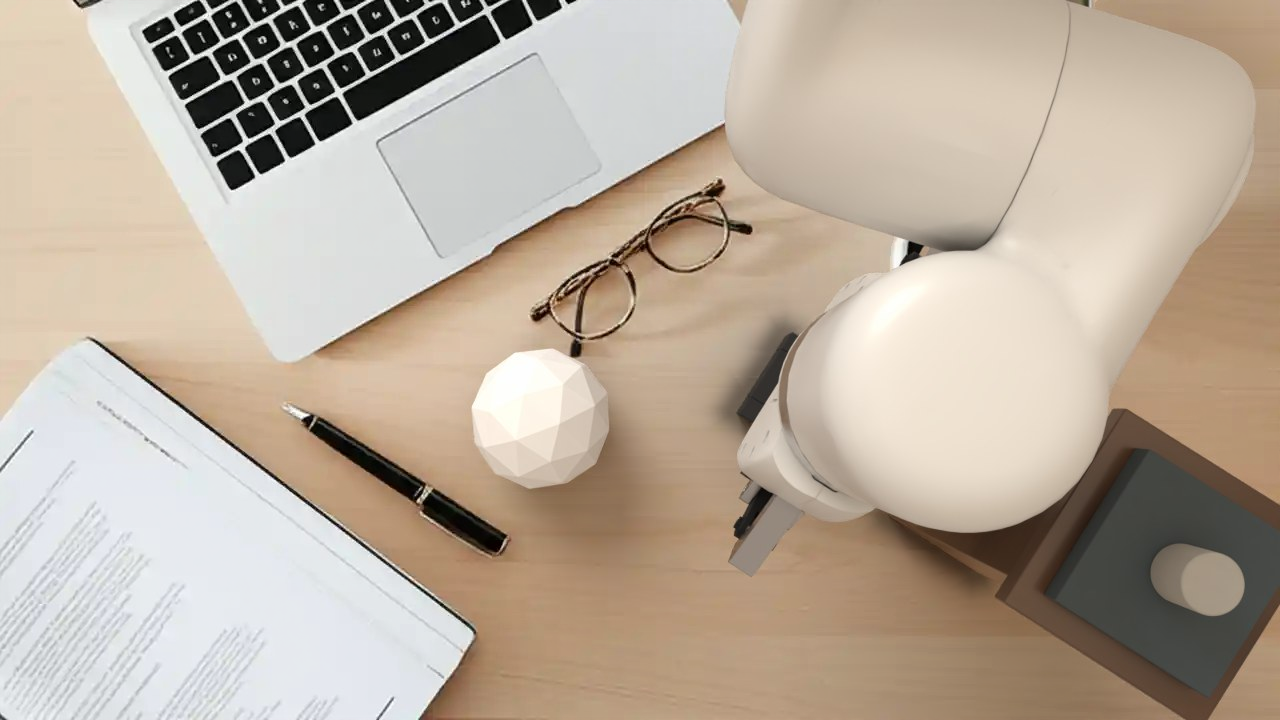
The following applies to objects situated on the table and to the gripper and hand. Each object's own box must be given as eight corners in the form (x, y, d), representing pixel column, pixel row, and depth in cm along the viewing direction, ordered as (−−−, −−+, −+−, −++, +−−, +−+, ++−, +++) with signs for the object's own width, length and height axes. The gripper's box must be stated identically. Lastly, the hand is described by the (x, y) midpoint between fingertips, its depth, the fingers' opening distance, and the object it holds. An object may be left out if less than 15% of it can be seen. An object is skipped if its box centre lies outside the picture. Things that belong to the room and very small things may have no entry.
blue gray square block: (1135, 447, 40) (1181, 451, 36) (1285, 542, 39) (1347, 555, 36) (1043, 594, 40) (1080, 613, 36) (1192, 689, 39) (1245, 718, 36)
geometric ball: (559, 383, 71) (603, 314, 65) (599, 500, 68) (649, 440, 62) (442, 398, 67) (476, 327, 61) (478, 523, 64) (518, 461, 58)
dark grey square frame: (785, 335, 68) (791, 331, 65) (864, 385, 68) (874, 384, 64) (736, 413, 68) (739, 413, 65) (814, 463, 68) (822, 466, 64)
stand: (937, 406, 68) (1125, 407, 40) (1053, 479, 67) (1325, 533, 39) (864, 520, 68) (1002, 602, 40) (980, 594, 67) (1202, 730, 39)
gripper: (925, 140, 41) (848, 221, 59) (667, 545, 41) (666, 508, 58) (1103, 251, 41) (974, 300, 58) (846, 661, 41) (792, 589, 58)
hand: (820, 404), depth 58 cm, fingers open, 9 cm apart
